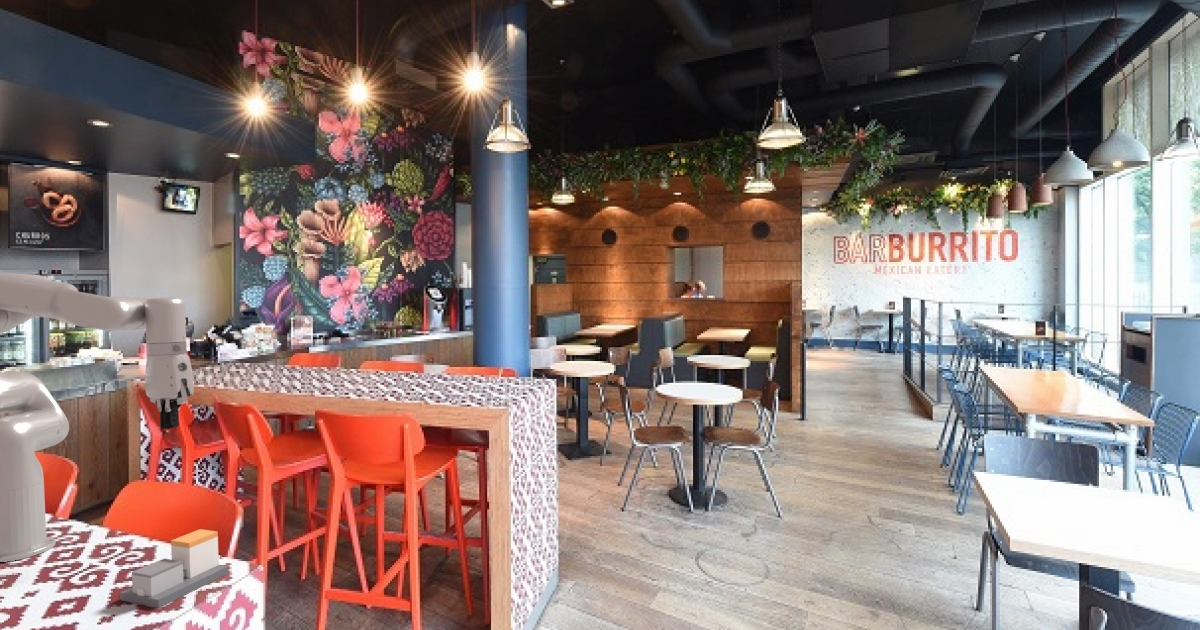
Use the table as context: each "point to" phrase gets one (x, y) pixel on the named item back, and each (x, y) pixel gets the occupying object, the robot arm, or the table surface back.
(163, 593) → the rail board
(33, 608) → the table surface
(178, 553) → the block
